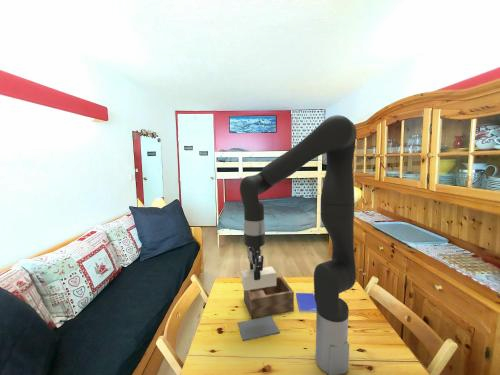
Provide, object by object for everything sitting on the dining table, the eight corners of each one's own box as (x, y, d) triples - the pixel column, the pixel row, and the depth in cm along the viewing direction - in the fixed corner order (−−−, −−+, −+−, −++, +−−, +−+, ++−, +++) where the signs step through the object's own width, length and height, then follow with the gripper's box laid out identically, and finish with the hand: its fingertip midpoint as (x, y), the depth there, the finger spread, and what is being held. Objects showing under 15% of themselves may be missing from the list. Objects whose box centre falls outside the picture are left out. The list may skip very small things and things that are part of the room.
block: (244, 290, 81) (244, 277, 80) (241, 283, 86) (241, 270, 85) (276, 285, 84) (276, 272, 83) (271, 278, 89) (271, 266, 88)
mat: (279, 333, 85) (279, 331, 85) (242, 341, 81) (242, 339, 81) (271, 316, 93) (271, 315, 93) (237, 323, 90) (237, 322, 90)
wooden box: (251, 319, 92) (251, 299, 91) (244, 299, 105) (243, 282, 104) (293, 311, 97) (293, 292, 95) (281, 293, 109) (281, 276, 108)
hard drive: (319, 310, 95) (313, 293, 107) (299, 309, 96) (296, 292, 108) (319, 314, 95) (313, 296, 108) (299, 313, 96) (296, 295, 108)
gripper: (271, 236, 76) (271, 284, 78) (258, 224, 90) (259, 265, 92) (249, 239, 74) (249, 288, 76) (240, 226, 88) (240, 268, 90)
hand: (255, 275), depth 84 cm, fingers closed on block, 5 cm apart
